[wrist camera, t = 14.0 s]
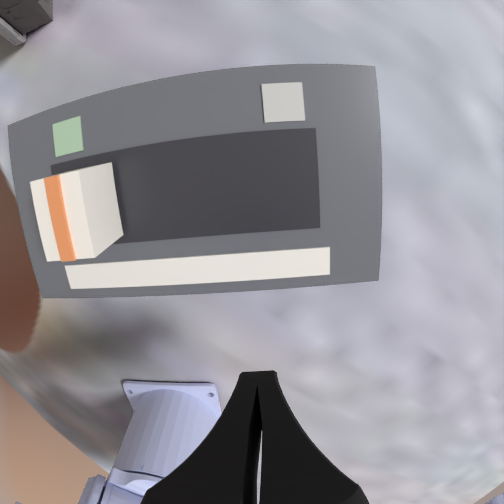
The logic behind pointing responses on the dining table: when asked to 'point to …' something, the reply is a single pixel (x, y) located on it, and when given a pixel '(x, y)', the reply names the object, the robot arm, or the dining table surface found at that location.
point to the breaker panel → (218, 181)
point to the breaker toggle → (77, 212)
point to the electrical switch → (23, 18)
